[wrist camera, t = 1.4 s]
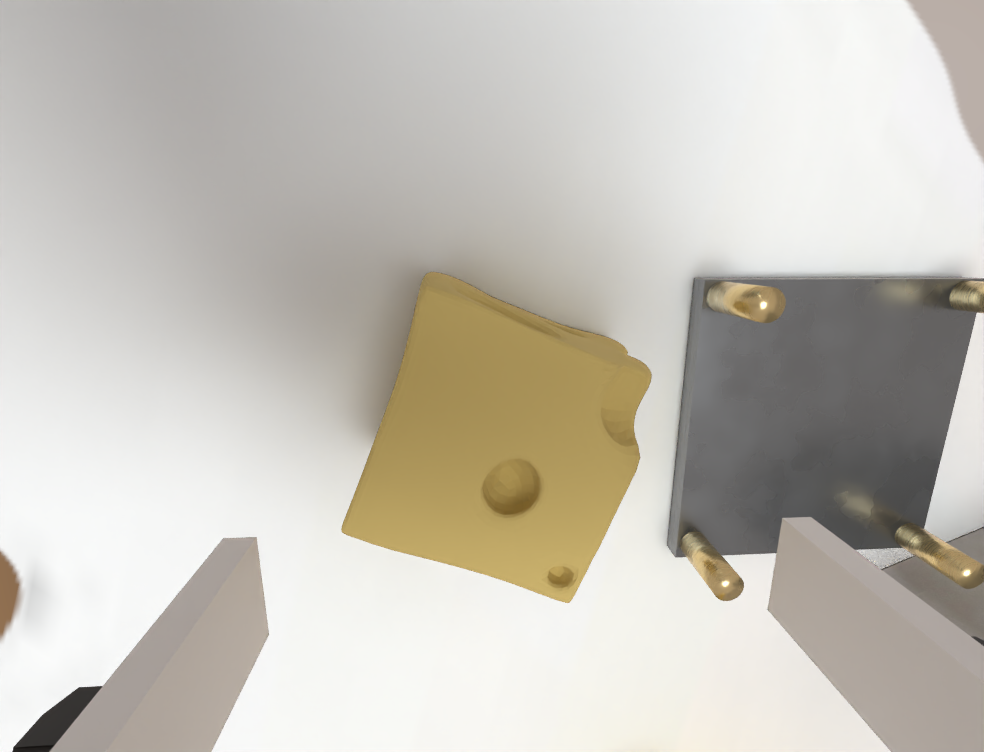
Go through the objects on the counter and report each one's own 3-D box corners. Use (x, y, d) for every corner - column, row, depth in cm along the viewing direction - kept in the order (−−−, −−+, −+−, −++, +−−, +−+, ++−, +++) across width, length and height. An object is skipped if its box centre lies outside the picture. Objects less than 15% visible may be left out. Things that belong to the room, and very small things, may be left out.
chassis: (694, 278, 27) (749, 284, 22) (963, 277, 28) (1074, 283, 23) (667, 545, 31) (708, 603, 26) (902, 536, 32) (985, 589, 27)
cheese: (611, 336, 27) (696, 384, 18) (534, 502, 30) (571, 625, 20) (434, 264, 26) (421, 273, 16) (366, 444, 28) (319, 548, 18)
